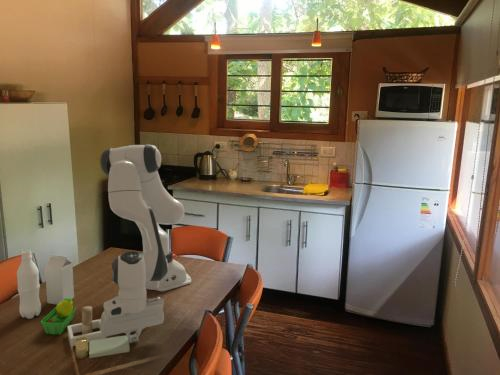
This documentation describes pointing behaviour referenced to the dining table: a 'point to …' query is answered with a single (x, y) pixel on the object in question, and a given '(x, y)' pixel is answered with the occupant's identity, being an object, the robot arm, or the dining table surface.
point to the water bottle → (28, 286)
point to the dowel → (86, 320)
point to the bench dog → (81, 347)
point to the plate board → (108, 346)
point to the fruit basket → (59, 317)
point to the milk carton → (59, 279)
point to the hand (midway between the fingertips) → (133, 340)
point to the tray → (89, 336)
